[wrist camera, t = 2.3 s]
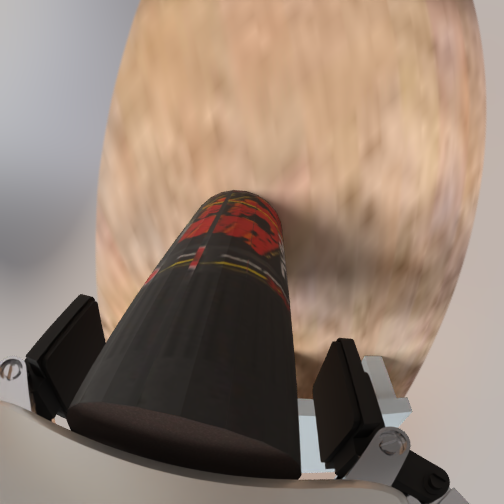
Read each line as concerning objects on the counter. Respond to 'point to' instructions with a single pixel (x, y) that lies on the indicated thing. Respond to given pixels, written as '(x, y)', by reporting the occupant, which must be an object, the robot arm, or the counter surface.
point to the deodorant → (204, 353)
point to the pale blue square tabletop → (389, 404)
